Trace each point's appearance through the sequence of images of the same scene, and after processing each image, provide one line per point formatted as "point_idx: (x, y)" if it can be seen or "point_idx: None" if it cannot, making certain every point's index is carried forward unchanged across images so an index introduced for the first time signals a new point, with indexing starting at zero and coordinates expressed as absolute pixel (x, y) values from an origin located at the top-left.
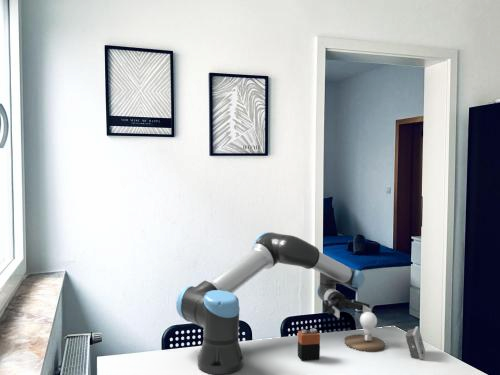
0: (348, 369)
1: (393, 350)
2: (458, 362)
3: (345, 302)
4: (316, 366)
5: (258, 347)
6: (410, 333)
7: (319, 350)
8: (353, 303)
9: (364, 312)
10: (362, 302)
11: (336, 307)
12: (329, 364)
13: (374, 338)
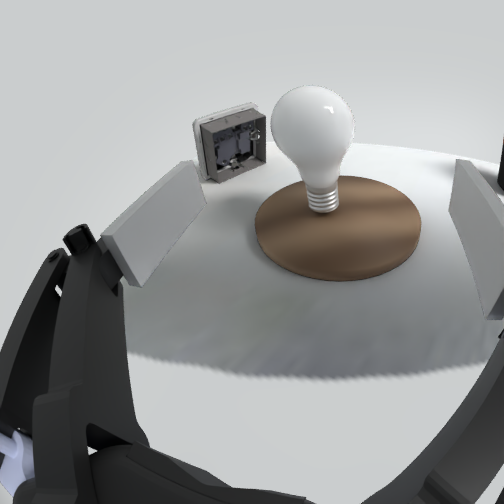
0: (438, 153)
1: (273, 185)
2: None
3: (136, 466)
4: (497, 170)
5: None
6: (242, 116)
7: (501, 160)
8: (86, 347)
9: (322, 91)
10: (14, 319)
11: (380, 494)
12: None
13: (274, 225)
